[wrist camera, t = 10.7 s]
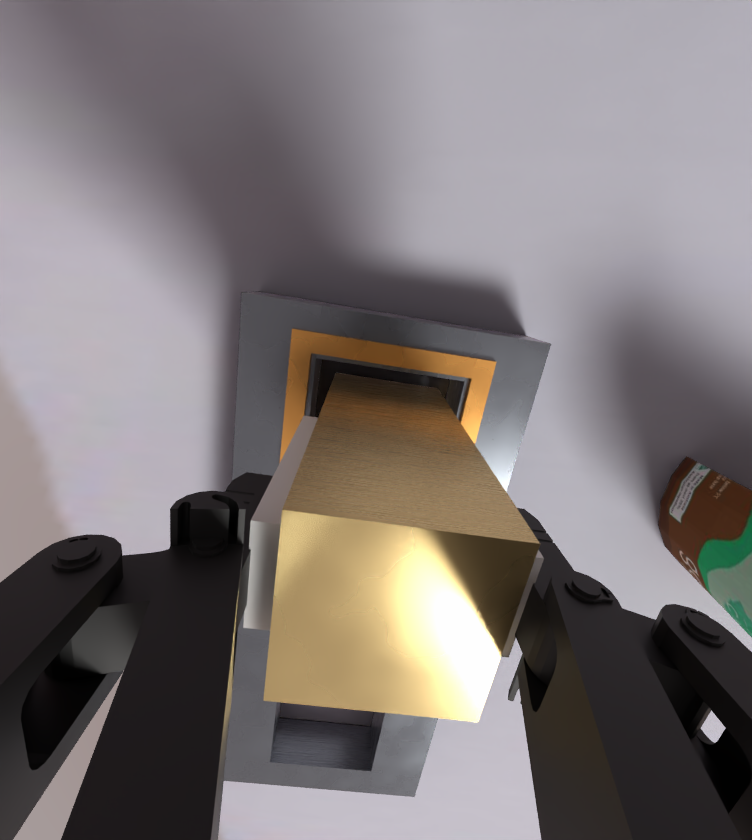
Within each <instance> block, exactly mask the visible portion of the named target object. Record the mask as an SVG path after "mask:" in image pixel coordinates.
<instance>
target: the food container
mask: <svg viewBox="0 0 752 840" xmlns="http://www.w3.org/2000/svg"><path fill="white" fill-rule="evenodd" d="M658 526H659V529H660V532H661V535H662V539H663V542H664V545H665V547H666V548H667V549H668V550H669V551H670V553H671V554H672V555H673V556H674V557H675V558H676V559H677V561H678V562H679V563H680V564H681V565H682V566H683V567H684V568H685V569H686V570H687V571H688V572H689V573H690V574H691V575H692V576H693V577H694V578H695V579H696V580H697V581H698V582H699V583H700V584H701V585H702V586H703V587H704V588H705V590H706V591H707V592H708V593H709V594H710V595H711V596H712V597H713V598H714V599H715V600H716V601H717V602H718V603H719V604H720V605H721V606H722V607H723V608H724V609H725V610H726V611H727V612H728V613H729V614H730V615H731V616H732V617H733V619H734V620H735V621H736V622H737V623H738V624H739V625H740V626H741V627H742V628H743V629H744V630H745V631H746V632H747V633H748V634H749V635H750V636H751V637H752V491H751V490H749V489H748V488H746V487H744V486H742V485H740V484H738V483H736V482H734V481H732V480H731V479H729V478H727V477H725V476H723V475H721V474H719V473H717V472H715V471H714V470H712V469H710V468H708V467H706V466H704V465H702V464H700V463H698V462H697V461H695V460H693V459H691V458H689V457H687V456H686V458H685V459H684V460H683V462H682V463H681V464H680V465H679V467H678V468H677V469H676V471H675V472H674V473H673V475H672V476H671V479H670V481H669V483H668V485H667V488H666V490H665V492H664V495H663V497H662V499H661V502H660V513H659V524H658Z"/></svg>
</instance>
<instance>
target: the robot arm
mask: <svg viewBox="0 0 752 840" xmlns="http://www.w3.org/2000/svg"><path fill="white" fill-rule="evenodd" d="M317 419H318V418H317V417H310V416H303V418H302V420H301V422H300V424H299V426H298V428H297V430H296V432H295V434H294V436H293V438H292V440H291V442H290V444H289V446H288V448H287V450H286V452H285V454H284V456H283V458H282V460H281V462H280V464H279V466H278V468H277V470H276V472H275V473H274V475H273V476H271V475H264V474H256V473H249V472H246V473H244V474H242V475H241V476H239V477H237V478H235V479H234V480H233V481H232V482H231V484H230V485H229V486H228V488H227V489H226V492H218V491H206V492H198V493H194V494H191V495H187V496H185V497H183V498H181V499H180V500H178V501H176V502H175V503H174V505H173V506H172V507H171V508H170V542H171V546H170V549H168V550H165V551H160V552H154V553H146V554H135V555H123V556H122V548H121V544H120V543H119V542H118V541H117V540H116V539H114V538H111V537H108V536H104V535H82V536H76V537H71V538H68V539H65V540H62V541H59V542H57V543H54V544H52V545H50V546H49V547H47V548H45V549H43V550H42V551H40V552H39V553H37V554H36V555H35V556H33V557H32V558H31V559H30V560H28V561H27V562H26V563H25V564H23V565H22V566H21V567H20V568H18V569H17V570H16V571H14V572H13V573H12V574H11V575H9V576H8V577H7V578H6V579H4V580H3V581H2V582H1V583H0V840H13V839H14V837H15V835H16V834H17V833H18V831H19V830H20V828H21V827H22V825H23V823H24V822H25V820H26V819H27V817H28V816H29V814H30V813H31V811H32V810H33V808H34V807H35V805H36V803H37V802H38V801H39V799H40V798H41V796H42V795H43V793H44V791H45V790H46V788H47V787H48V785H49V784H50V782H51V781H52V779H53V778H54V776H55V775H56V773H57V772H58V770H59V769H60V767H61V766H62V764H63V762H64V761H65V759H66V758H67V756H68V755H69V753H70V752H71V750H72V749H73V747H74V746H75V744H76V743H77V741H78V739H79V738H80V737H81V735H82V733H83V732H84V730H85V729H86V727H87V725H88V724H89V723H90V721H91V720H92V718H93V717H94V715H95V714H96V712H97V710H98V709H99V708H100V706H101V704H102V703H103V701H104V700H105V698H106V697H107V695H108V694H109V692H110V691H111V689H112V688H113V686H114V684H115V683H116V682H117V680H118V679H119V677H120V675H121V674H122V672H123V670H124V672H123V675H122V677H121V680H120V683H119V686H118V688H117V691H116V694H115V696H114V699H113V702H112V704H111V707H110V710H109V713H108V715H107V718H106V720H105V723H104V726H103V728H102V731H101V734H100V737H99V739H98V742H97V745H96V747H95V750H94V753H93V755H92V758H91V761H90V763H89V766H88V769H87V772H86V774H85V777H84V779H83V782H82V785H81V787H80V790H79V793H78V796H77V798H76V801H75V804H74V806H73V809H72V812H71V815H70V817H69V820H68V822H67V825H66V828H65V830H64V833H63V836H62V838H61V840H218V831H219V821H220V811H221V801H222V791H223V781H224V770H225V760H226V750H227V740H228V730H229V719H230V709H231V699H232V689H233V679H234V668H235V658H236V648H237V634H238V627H239V624H240V621H241V619H242V616H243V614H244V624H243V628H251V629H260V630H269V631H270V628H271V618H272V608H273V598H274V588H275V577H276V567H277V557H278V547H279V537H280V527H281V517H282V509H283V506H284V504H285V501H286V499H287V496H288V494H289V491H290V489H291V486H292V483H293V481H294V478H295V476H296V473H297V471H298V468H299V465H300V463H301V460H302V458H303V455H304V453H305V450H306V448H307V445H308V442H309V440H310V437H311V435H312V432H313V430H314V427H315V425H316V422H317ZM517 509H518V511H519V512H520V514H521V515H522V517H523V518H524V520H525V521H526V523H527V524H528V526H529V527H530V529H531V530H532V532H533V533H534V535H535V537H536V538H537V540H538V541H539V543H540V546H539V549H538V552H537V555H536V558H535V561H534V564H533V566H532V569H531V572H530V575H529V578H528V581H527V584H526V586H525V589H524V592H523V595H522V598H521V601H520V604H519V606H518V609H517V612H516V615H515V618H514V621H513V623H512V626H511V629H510V632H509V635H508V638H507V641H506V643H505V646H504V649H503V652H502V655H501V656H502V657H509V655H510V652H511V649H512V646H513V644H514V641H515V638H517V641H518V643H519V645H520V648H521V650H522V653H523V654H522V657H521V659H520V662H519V665H518V668H517V670H516V673H515V676H514V678H513V681H512V684H511V686H510V689H509V694H508V700H510V701H513V700H514V698H515V695H516V692H517V690H518V689H520V696H521V704H522V709H523V716H524V723H525V730H526V737H527V744H528V750H529V757H530V764H531V771H532V778H533V785H534V792H535V798H536V805H537V812H538V819H539V826H540V833H541V839H542V840H752V652H751V651H750V650H749V649H748V648H746V647H745V646H744V645H743V644H742V643H741V642H740V641H739V640H738V639H737V638H736V637H735V636H734V635H733V634H732V633H730V632H729V631H728V630H727V629H725V628H724V627H723V626H722V625H721V624H719V623H718V622H716V621H714V620H713V619H711V618H710V617H709V616H707V615H706V614H704V613H702V612H700V611H696V610H695V609H692V608H689V607H685V606H681V605H676V604H671V605H665V606H664V607H663V608H662V609H661V611H660V613H659V615H658V617H657V619H656V620H654V619H651V618H648V617H645V616H643V615H640V614H637V613H634V612H631V611H628V610H625V609H622V608H621V606H620V604H619V602H618V600H617V599H616V598H615V596H614V595H613V594H612V592H611V591H610V590H609V589H607V588H606V587H605V586H604V585H603V584H601V583H600V582H598V581H596V580H595V579H593V578H591V577H589V576H587V575H584V574H582V573H579V572H576V571H574V570H573V568H572V567H571V566H570V564H569V563H568V561H567V560H566V559H565V557H564V556H563V554H562V553H561V552H560V550H559V549H558V547H557V546H556V545H555V543H553V540H552V539H551V538H550V536H549V535H548V534H547V533H546V531H545V529H544V528H543V526H542V525H541V524H540V522H539V521H538V520H537V519H536V518H535V517H534V516H532V515H531V514H530V513H528V512H527V511H526V510H525V509H520V508H517ZM711 710H712V711H713V713H714V714H715V715H716V716H717V718H718V719H719V720H720V721H721V722H722V724H723V725H724V726H725V727H726V729H725V730H724V732H723V734H722V735H721V737H720V738H719V740H718V741H717V742H716V743H714V742H712V741H711V740H710V739H709V738H708V737H707V736H706V735H705V734H704V733H703V731H702V730H701V729H700V728H701V726H702V725H703V723H704V721H705V720H706V718H707V716H708V715H709V713H710V711H711Z"/></svg>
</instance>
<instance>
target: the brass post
mask: <svg viewBox="0 0 752 840" xmlns="http://www.w3.org/2000/svg"><path fill="white" fill-rule="evenodd" d="M539 546H540V543H539V541H538V540H537V538H536V537H535V535H534V533H533V532H532V530H531V529H530V527H529V526H528V524H527V523H526V521H525V520H524V518H523V517H522V515H521V514H520V512H519V511H518V509H517V508H516V506H515V505H514V503H513V502H512V500H511V499H510V497H509V496H508V494H507V493H506V491H505V490H504V488H503V486H502V485H501V483H500V482H499V480H498V479H497V477H496V476H495V474H494V473H493V471H492V470H491V468H490V467H489V465H488V464H487V462H486V461H485V459H484V458H483V456H482V455H481V453H480V452H479V450H478V449H477V447H476V446H475V444H474V443H473V441H472V439H471V438H470V436H469V435H468V433H467V432H466V430H465V429H464V427H463V426H462V424H461V423H460V421H459V420H458V418H457V417H456V415H455V414H454V412H453V411H452V409H451V408H450V406H449V405H448V403H447V402H446V400H445V399H444V397H443V396H442V394H441V392H440V391H439V389H438V388H432V387H426V386H420V385H413V384H407V383H400V382H394V381H388V380H381V379H375V378H368V377H362V376H356V375H349V374H343V373H335V376H334V379H333V381H332V384H331V386H330V389H329V391H328V394H327V396H326V399H325V402H324V404H323V407H322V409H321V412H320V414H319V417H318V419H317V422H316V425H315V427H314V430H313V432H312V435H311V437H310V440H309V442H308V445H307V448H306V450H305V453H304V455H303V458H302V460H301V463H300V465H299V468H298V471H297V473H296V476H295V478H294V481H293V483H292V486H291V489H290V491H289V494H288V496H287V499H286V501H285V504H284V506H283V509H282V517H281V527H280V537H279V547H278V557H277V567H276V577H275V588H274V598H273V608H272V618H271V628H270V638H269V649H268V659H267V669H266V679H265V689H264V699H263V701H271V702H282V703H292V704H302V705H312V706H322V707H332V708H342V709H352V710H362V711H372V712H382V713H392V714H402V715H412V716H422V717H432V718H442V719H452V720H462V721H472V722H478V721H479V718H480V715H481V712H482V709H483V706H484V703H485V701H486V698H487V695H488V692H489V689H490V686H491V683H492V681H493V678H494V675H495V672H496V669H497V666H498V663H499V661H500V658H501V655H502V652H503V649H504V646H505V643H506V641H507V638H508V635H509V632H510V629H511V626H512V623H513V621H514V618H515V615H516V612H517V609H518V606H519V604H520V601H521V598H522V595H523V592H524V589H525V586H526V584H527V581H528V578H529V575H530V572H531V569H532V566H533V564H534V561H535V558H536V555H537V552H538V549H539Z"/></svg>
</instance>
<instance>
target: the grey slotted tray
mask: <svg viewBox="0 0 752 840" xmlns="http://www.w3.org/2000/svg"><path fill="white" fill-rule="evenodd" d="M550 346H551V344H550V343H546V342H543V341H540V340H537V339H534V338H531V337H528V336H523V335H517V334H511V333H505V332H499V331H493V330H487V329H481V328H475V327H469V326H463V325H457V324H451V323H445V322H439V321H433V320H427V319H421V318H415V317H409V316H403V315H397V314H391V313H385V312H379V311H373V310H367V309H361V308H355V307H349V306H343V305H337V304H331V303H326V302H320V301H314V300H308V299H302V298H296V297H290V296H284V295H278V294H272V293H266V292H260V291H258V292H242V293H241V312H240V332H239V352H238V371H237V391H236V411H235V431H234V450H233V470H232V481H233V480H234V479H235V478H237V477H239V476H241V475H242V474H244V473H246V472H249V473H256V474H264V475H271V476H273V475H274V473H275V472H276V470H277V468H278V466H279V464H280V462H281V460H282V458H283V456H284V454H285V452H286V450H287V448H288V446H289V444H290V442H291V440H292V438H293V436H294V434H295V432H296V430H297V428H298V426H299V424H300V422H301V420H302V418H303V416H310V417H315V413H316V404H317V396H318V387H319V379H320V371H321V362H322V359H325V360H331V361H338V362H344V363H350V364H357V365H363V366H369V367H376V368H382V369H388V370H395V371H401V372H407V373H414V374H420V375H426V376H433V377H439V378H445V379H450V382H449V386H448V390H447V395H446V399H445V400H446V402H447V403H448V405H449V406H450V408H451V409H452V411H453V412H454V414H455V415H456V417H457V418H458V420H459V421H460V423H461V424H462V426H463V427H464V429H465V430H466V432H467V433H468V435H469V436H470V438H471V439H472V441H473V443H474V444H475V446H476V447H477V449H478V450H479V452H480V453H481V455H482V456H483V458H484V459H485V461H486V462H487V464H488V465H489V467H490V468H491V470H492V471H493V473H494V474H495V476H496V477H497V479H498V480H499V482H500V483H501V485H502V486H503V488H504V490H505V491H507V488H508V485H509V481H510V478H511V475H512V472H513V468H514V465H515V462H516V458H517V455H518V452H519V448H520V445H521V442H522V438H523V435H524V432H525V428H526V425H527V422H528V419H529V415H530V412H531V409H532V405H533V402H534V399H535V395H536V392H537V389H538V385H539V382H540V379H541V375H542V372H543V369H544V366H545V362H546V359H547V356H548V352H549V349H550ZM243 624H244V614H243V616H242V619H241V621H240V624H239V627H238V634H237V648H236V658H235V668H234V679H233V689H232V699H231V709H230V719H229V730H228V740H227V750H226V760H225V770H224V781H235V782H246V783H258V784H270V785H281V786H293V787H305V788H317V789H328V790H340V791H352V792H363V793H375V794H387V795H398V796H410V797H414V796H415V793H416V789H417V786H418V783H419V780H420V776H421V773H422V770H423V766H424V763H425V760H426V756H427V753H428V750H429V746H430V743H431V740H432V736H433V733H434V730H435V727H436V723H437V720H438V718H432V717H422V716H412V715H402V714H392V713H382V712H374V716H373V721H372V725H371V727H368V726H358V725H347V724H337V723H327V722H316V721H306V720H296V719H285V718H279V715H280V707H281V702H271V701H263V699H264V689H265V679H266V669H267V659H268V649H269V638H270V631H269V630H260V629H251V628H243Z"/></svg>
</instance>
